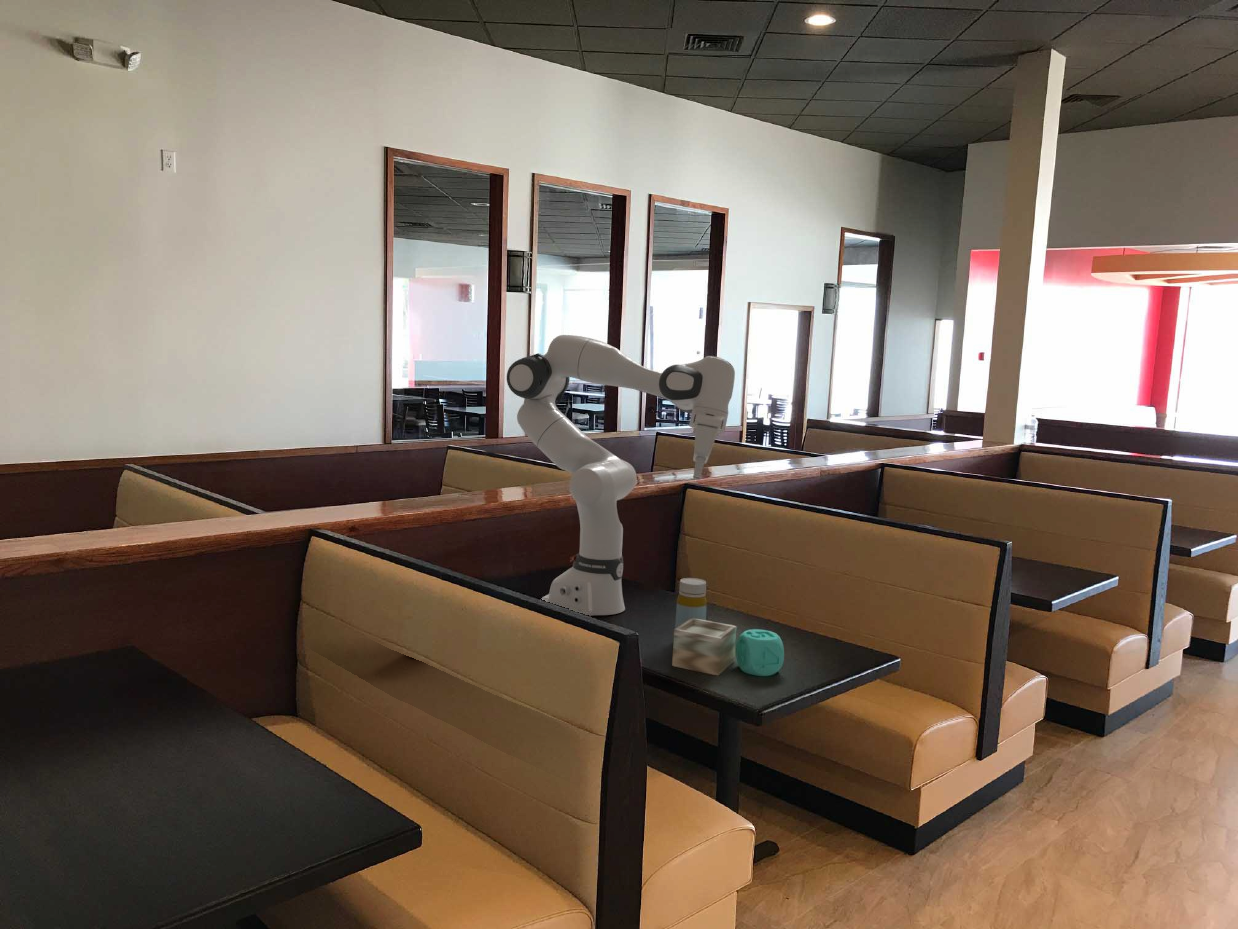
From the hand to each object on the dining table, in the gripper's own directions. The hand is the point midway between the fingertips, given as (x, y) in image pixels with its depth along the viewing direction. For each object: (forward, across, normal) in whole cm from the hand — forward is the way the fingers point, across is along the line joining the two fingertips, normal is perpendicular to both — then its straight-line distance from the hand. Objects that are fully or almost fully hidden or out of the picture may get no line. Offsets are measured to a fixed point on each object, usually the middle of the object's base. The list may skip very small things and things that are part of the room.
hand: (696, 478), depth 225 cm
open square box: (+41, +17, +10) cm, 46 cm away
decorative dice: (+40, +18, +22) cm, 49 cm away
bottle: (+39, +4, +6) cm, 40 cm away
